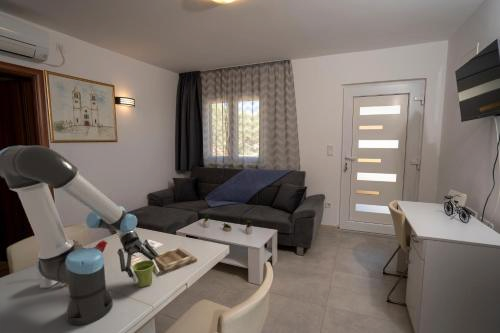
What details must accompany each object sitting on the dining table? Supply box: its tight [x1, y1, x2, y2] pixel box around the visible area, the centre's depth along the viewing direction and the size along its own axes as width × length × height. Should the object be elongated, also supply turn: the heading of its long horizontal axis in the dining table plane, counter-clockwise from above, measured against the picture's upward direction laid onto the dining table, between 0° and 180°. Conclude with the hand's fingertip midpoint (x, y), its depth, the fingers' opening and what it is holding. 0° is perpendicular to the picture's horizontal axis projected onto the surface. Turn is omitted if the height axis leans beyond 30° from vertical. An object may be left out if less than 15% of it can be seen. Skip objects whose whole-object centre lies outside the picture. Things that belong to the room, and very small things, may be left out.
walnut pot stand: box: [149, 246, 198, 276], centre depth 134 cm, size 20×16×4 cm
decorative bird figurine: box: [92, 240, 109, 254], centre depth 138 cm, size 3×18×10 cm, turn 129°
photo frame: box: [124, 239, 164, 257], centre depth 154 cm, size 15×1×18 cm
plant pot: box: [131, 259, 155, 288], centre depth 115 cm, size 9×9×9 cm
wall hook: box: [35, 271, 67, 289], centre depth 115 cm, size 8×10×10 cm
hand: (147, 277), depth 113 cm, fingers closed on plant pot, 9 cm apart
